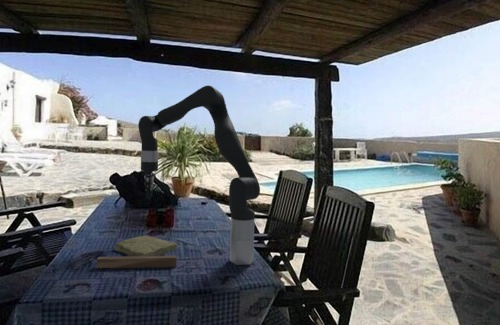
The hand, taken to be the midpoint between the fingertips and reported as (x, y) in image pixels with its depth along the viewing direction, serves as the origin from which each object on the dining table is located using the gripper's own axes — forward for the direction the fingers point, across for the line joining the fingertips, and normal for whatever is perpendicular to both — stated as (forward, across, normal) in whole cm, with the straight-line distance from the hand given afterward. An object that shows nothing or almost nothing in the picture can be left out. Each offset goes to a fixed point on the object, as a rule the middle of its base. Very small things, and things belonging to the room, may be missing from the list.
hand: (149, 197), depth 170 cm
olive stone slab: (+20, -16, 0) cm, 25 cm away
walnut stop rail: (+19, -35, 0) cm, 40 cm away
